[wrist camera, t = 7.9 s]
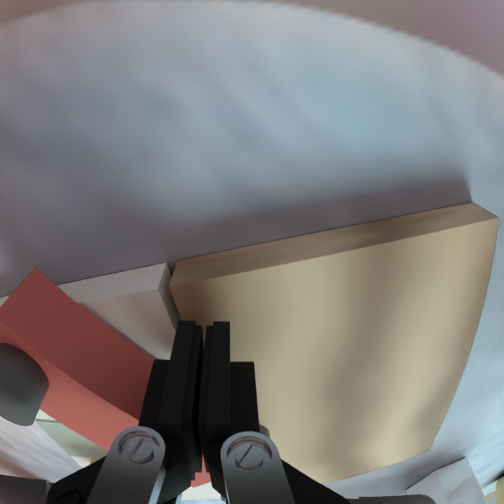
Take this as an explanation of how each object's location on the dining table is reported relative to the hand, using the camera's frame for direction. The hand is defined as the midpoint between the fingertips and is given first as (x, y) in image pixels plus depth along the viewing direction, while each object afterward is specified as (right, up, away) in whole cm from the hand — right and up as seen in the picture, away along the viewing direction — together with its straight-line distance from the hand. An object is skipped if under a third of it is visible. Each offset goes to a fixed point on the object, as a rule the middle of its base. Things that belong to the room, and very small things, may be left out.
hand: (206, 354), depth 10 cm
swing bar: (-3, -1, +1) cm, 4 cm away
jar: (+23, -23, +16) cm, 37 cm away
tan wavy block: (+6, -4, +5) cm, 9 cm away
